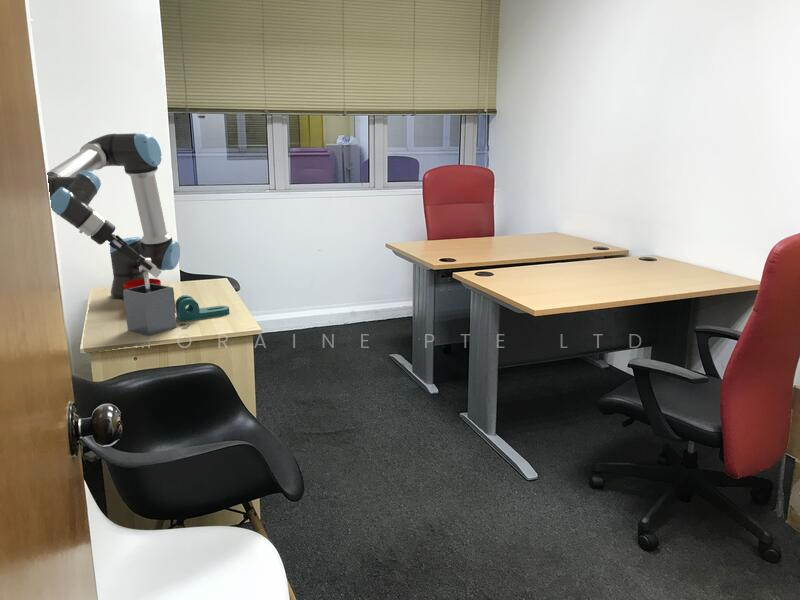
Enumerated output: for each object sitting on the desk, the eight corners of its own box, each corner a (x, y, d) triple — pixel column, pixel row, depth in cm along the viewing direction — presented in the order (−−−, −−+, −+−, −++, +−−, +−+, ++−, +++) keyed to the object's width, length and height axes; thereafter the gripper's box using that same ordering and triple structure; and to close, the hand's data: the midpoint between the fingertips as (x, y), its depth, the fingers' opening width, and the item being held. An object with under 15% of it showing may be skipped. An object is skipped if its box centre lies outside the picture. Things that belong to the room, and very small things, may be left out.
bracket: (180, 322, 220) (178, 300, 218) (176, 317, 226) (174, 296, 224) (231, 314, 229) (230, 294, 227) (226, 310, 235) (225, 290, 233)
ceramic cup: (160, 314, 230) (157, 287, 227) (119, 311, 233) (115, 285, 231) (179, 304, 242) (176, 279, 239) (139, 302, 245) (136, 277, 243)
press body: (164, 319, 223) (160, 281, 219) (185, 324, 217) (181, 285, 214) (127, 330, 211) (122, 289, 207) (148, 335, 205) (143, 294, 202)
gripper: (86, 232, 206) (143, 274, 218) (92, 242, 188) (154, 287, 200) (101, 215, 207) (157, 258, 219) (109, 223, 189) (170, 269, 201)
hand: (156, 272), depth 209 cm, fingers open, 9 cm apart
